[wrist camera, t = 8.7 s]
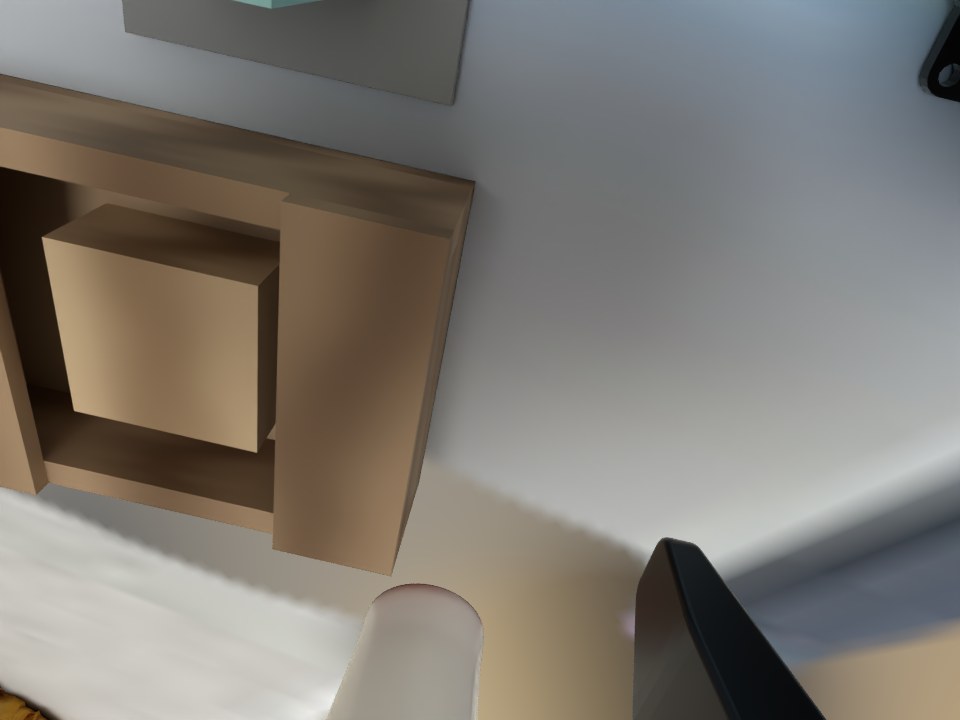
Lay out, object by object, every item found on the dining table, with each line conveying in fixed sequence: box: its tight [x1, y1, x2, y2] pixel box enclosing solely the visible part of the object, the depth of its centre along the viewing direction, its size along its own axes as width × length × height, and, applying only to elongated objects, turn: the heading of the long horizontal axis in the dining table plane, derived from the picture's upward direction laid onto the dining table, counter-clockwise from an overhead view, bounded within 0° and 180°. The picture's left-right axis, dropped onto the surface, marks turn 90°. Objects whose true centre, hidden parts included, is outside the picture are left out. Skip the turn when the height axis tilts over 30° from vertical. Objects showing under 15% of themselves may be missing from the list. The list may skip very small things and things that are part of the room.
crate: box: [0, 74, 475, 576], centre depth 20 cm, size 16×12×5 cm
